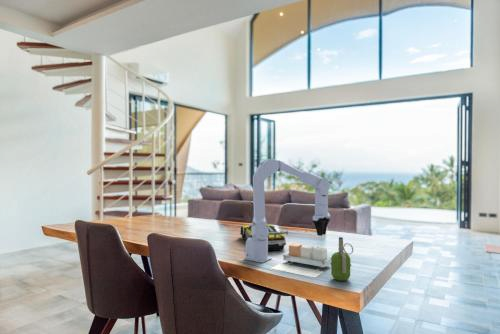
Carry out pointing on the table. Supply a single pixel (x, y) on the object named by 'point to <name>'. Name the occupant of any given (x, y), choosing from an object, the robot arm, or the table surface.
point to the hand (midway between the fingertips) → (321, 234)
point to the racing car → (274, 238)
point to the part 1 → (307, 252)
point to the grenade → (341, 263)
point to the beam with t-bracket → (307, 261)
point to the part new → (295, 250)
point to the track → (297, 270)
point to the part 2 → (319, 254)
